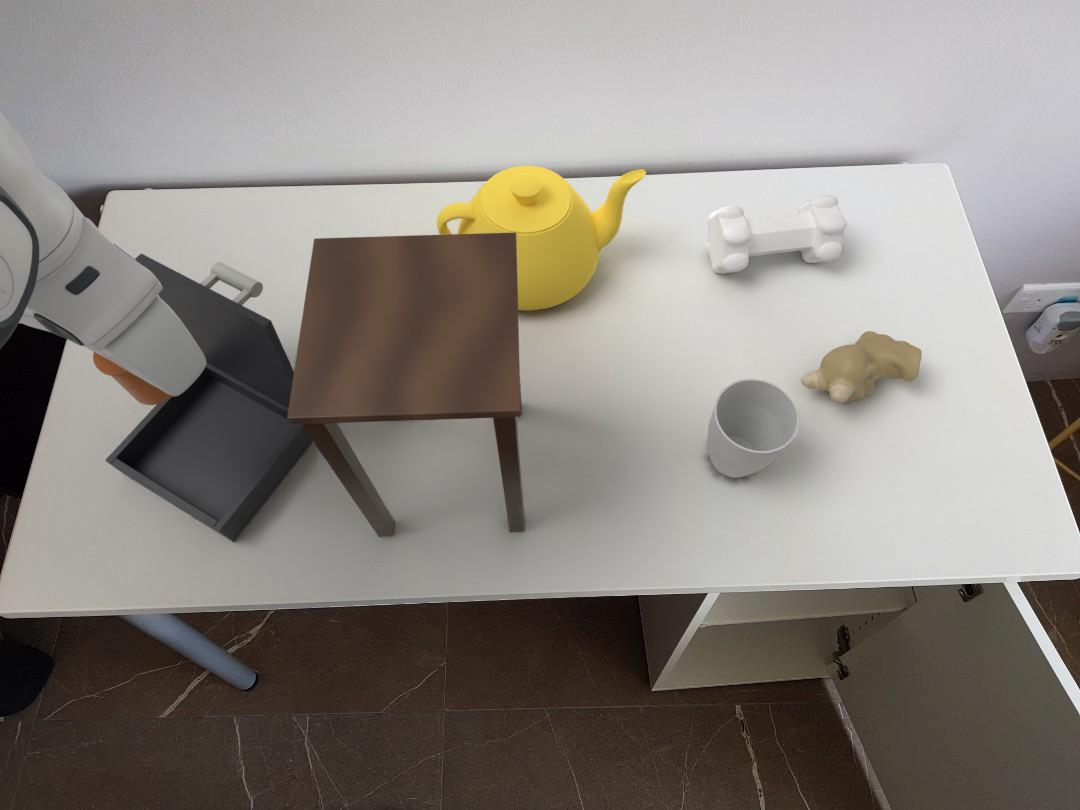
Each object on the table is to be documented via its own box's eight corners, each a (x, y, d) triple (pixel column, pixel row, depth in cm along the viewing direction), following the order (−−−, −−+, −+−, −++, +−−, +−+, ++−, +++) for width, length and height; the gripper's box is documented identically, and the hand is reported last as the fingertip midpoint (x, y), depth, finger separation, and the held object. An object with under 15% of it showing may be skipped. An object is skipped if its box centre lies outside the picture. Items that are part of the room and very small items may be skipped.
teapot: (620, 201, 95) (631, 116, 83) (647, 307, 86) (663, 231, 74) (434, 220, 93) (418, 137, 81) (443, 330, 85) (427, 256, 73)
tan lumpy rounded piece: (936, 356, 76) (861, 380, 71) (906, 407, 80) (834, 433, 75) (876, 317, 81) (802, 336, 76) (851, 366, 86) (780, 387, 80)
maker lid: (265, 326, 62) (300, 290, 64) (134, 258, 65) (172, 227, 68) (307, 417, 75) (336, 385, 77) (196, 356, 78) (227, 327, 81)
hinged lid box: (234, 542, 73) (219, 531, 69) (123, 474, 77) (104, 460, 73) (321, 431, 79) (311, 416, 75) (215, 373, 82) (201, 356, 79)
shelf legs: (378, 536, 73) (297, 419, 49) (388, 407, 80) (321, 250, 56) (524, 531, 73) (515, 412, 49) (521, 403, 80) (511, 244, 56)
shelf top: (291, 424, 49) (286, 418, 48) (317, 246, 56) (313, 238, 56) (520, 417, 49) (520, 410, 48) (516, 240, 57) (516, 231, 56)
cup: (775, 491, 75) (805, 453, 66) (698, 490, 75) (719, 452, 66) (764, 423, 79) (792, 378, 70) (692, 422, 79) (710, 378, 70)
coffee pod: (156, 416, 63) (121, 382, 57) (118, 394, 64) (80, 359, 59) (192, 377, 65) (161, 341, 59) (155, 357, 66) (121, 319, 60)
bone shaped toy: (810, 224, 92) (832, 178, 85) (832, 276, 88) (857, 232, 81) (699, 237, 92) (712, 191, 84) (716, 290, 88) (731, 247, 80)
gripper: (-107, 232, 50) (21, 341, 62) (103, 351, 45) (196, 444, 57) (-33, 176, 52) (75, 291, 65) (172, 282, 48) (248, 385, 60)
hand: (134, 363), depth 61 cm, fingers closed on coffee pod, 4 cm apart
